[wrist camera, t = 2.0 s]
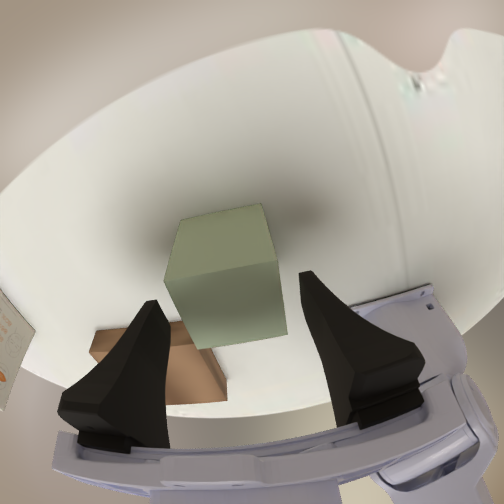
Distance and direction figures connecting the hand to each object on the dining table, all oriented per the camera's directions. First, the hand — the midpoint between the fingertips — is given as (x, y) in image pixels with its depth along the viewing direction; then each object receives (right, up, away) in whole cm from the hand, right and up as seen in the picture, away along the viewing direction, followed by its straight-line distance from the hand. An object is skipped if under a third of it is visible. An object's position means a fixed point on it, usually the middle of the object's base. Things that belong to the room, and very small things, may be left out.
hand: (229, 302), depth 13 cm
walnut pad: (-7, -8, +11) cm, 15 cm away
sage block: (0, +3, +4) cm, 5 cm away
